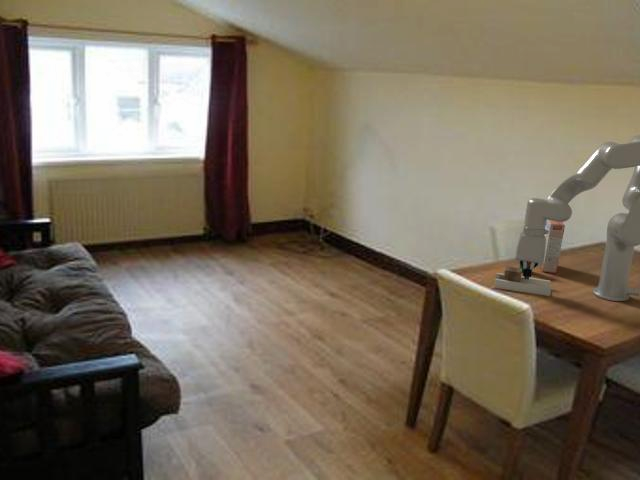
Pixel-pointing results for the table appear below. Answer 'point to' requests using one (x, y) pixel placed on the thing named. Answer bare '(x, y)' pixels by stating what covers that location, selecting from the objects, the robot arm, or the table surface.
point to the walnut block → (512, 274)
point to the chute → (524, 285)
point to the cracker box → (553, 245)
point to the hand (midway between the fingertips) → (526, 278)
